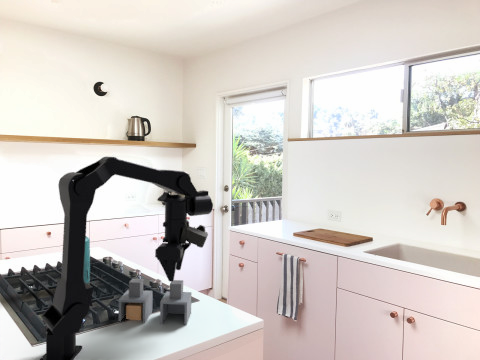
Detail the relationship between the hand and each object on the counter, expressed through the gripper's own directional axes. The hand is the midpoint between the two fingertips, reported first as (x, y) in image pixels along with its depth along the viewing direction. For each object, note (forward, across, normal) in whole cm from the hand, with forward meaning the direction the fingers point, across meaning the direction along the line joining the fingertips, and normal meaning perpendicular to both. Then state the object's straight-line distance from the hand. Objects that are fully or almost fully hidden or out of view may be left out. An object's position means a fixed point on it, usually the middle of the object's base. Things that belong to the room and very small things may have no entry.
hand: (174, 275), depth 98 cm
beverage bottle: (+12, +20, +36) cm, 42 cm away
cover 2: (+12, 0, 0) cm, 12 cm away
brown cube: (+12, 0, +10) cm, 16 cm away
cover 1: (+12, 0, +10) cm, 16 cm away
